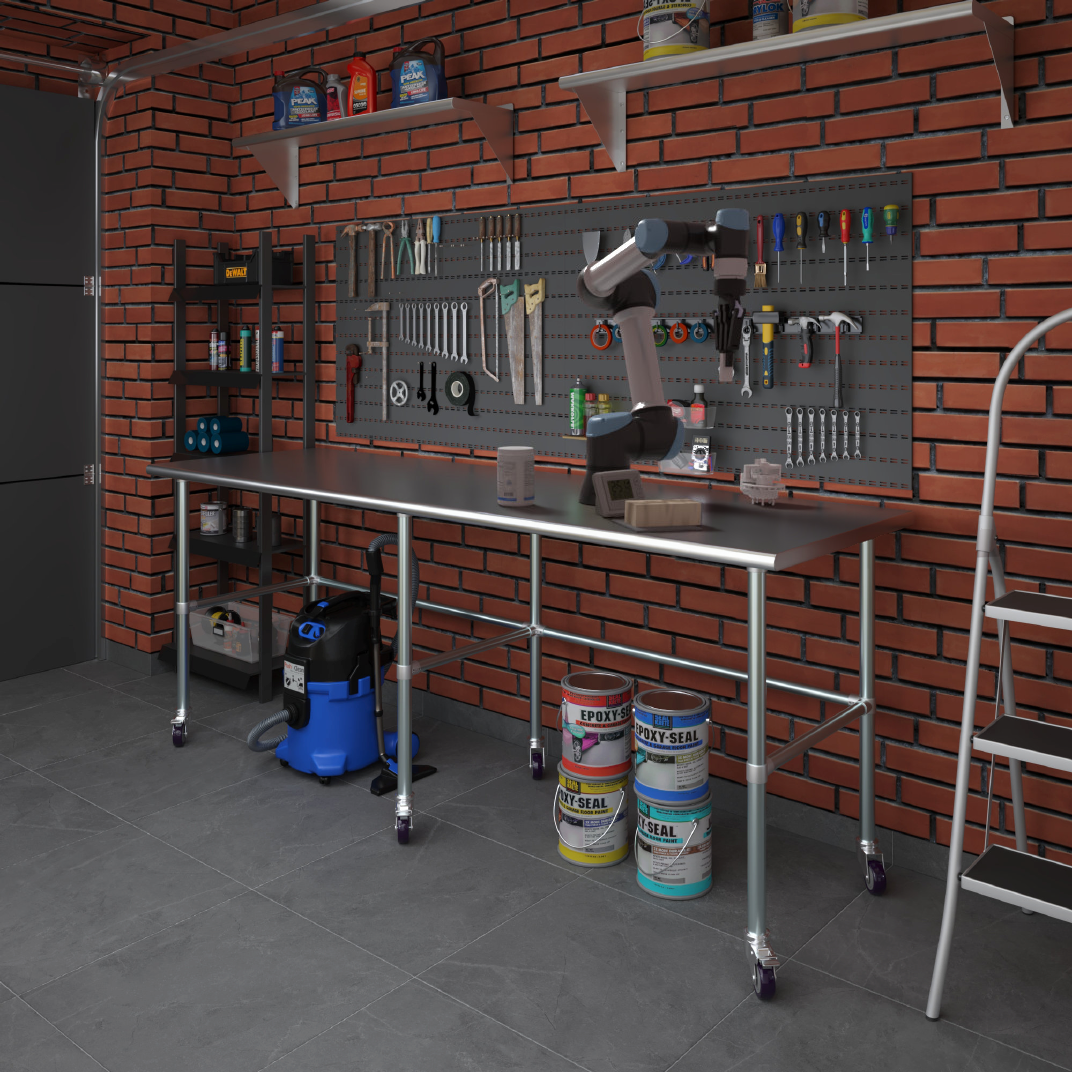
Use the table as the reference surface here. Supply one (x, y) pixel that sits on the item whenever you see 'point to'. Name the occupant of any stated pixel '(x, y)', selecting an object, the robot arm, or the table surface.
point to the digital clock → (616, 491)
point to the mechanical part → (761, 481)
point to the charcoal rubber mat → (656, 527)
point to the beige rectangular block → (663, 512)
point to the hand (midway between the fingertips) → (725, 381)
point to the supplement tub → (515, 476)
